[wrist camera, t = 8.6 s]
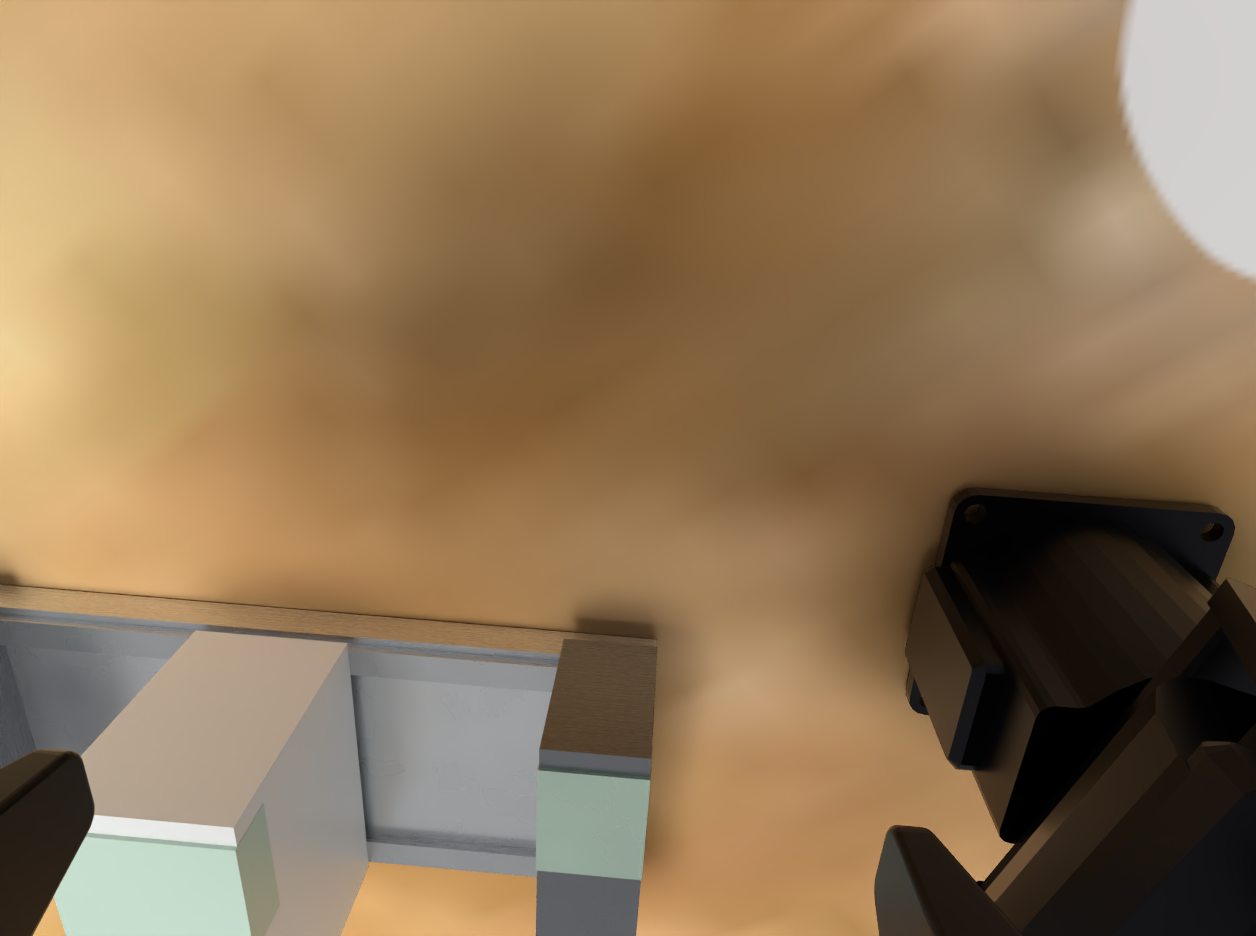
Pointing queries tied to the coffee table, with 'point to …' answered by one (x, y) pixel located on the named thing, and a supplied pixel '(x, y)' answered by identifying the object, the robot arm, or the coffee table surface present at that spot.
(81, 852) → the module
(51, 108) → the coffee table surface
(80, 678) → the rail
